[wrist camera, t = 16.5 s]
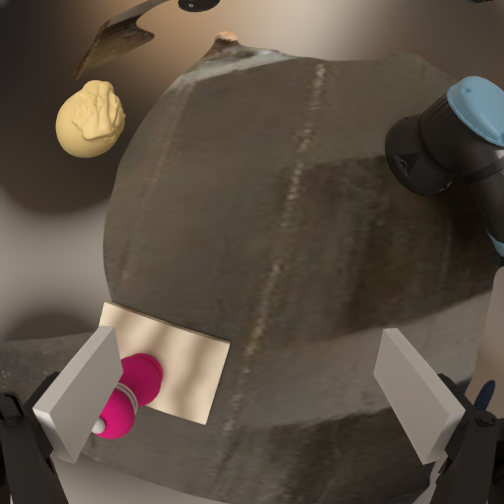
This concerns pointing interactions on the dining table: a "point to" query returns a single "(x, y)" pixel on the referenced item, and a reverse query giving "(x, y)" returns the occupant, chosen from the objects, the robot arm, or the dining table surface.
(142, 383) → the pepper mill
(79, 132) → the sculpture
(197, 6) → the milk frother
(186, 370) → the serving board
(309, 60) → the dining table surface
